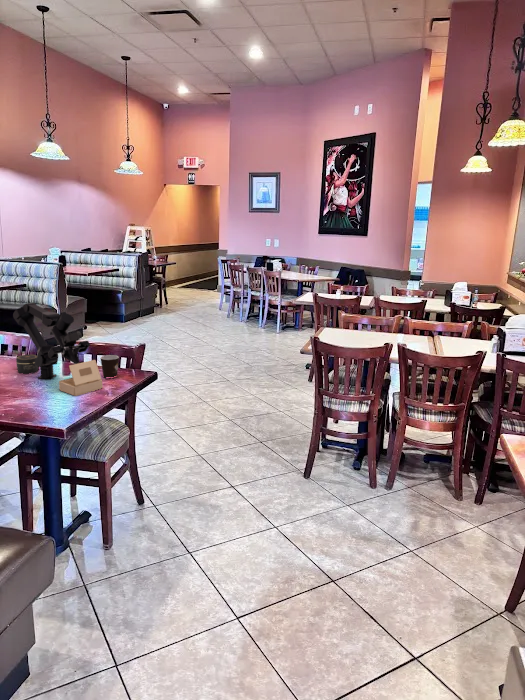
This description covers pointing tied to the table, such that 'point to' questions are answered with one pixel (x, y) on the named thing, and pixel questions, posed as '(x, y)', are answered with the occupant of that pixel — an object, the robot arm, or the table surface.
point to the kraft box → (79, 386)
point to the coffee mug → (109, 365)
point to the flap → (85, 372)
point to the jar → (26, 364)
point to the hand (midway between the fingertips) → (78, 364)
